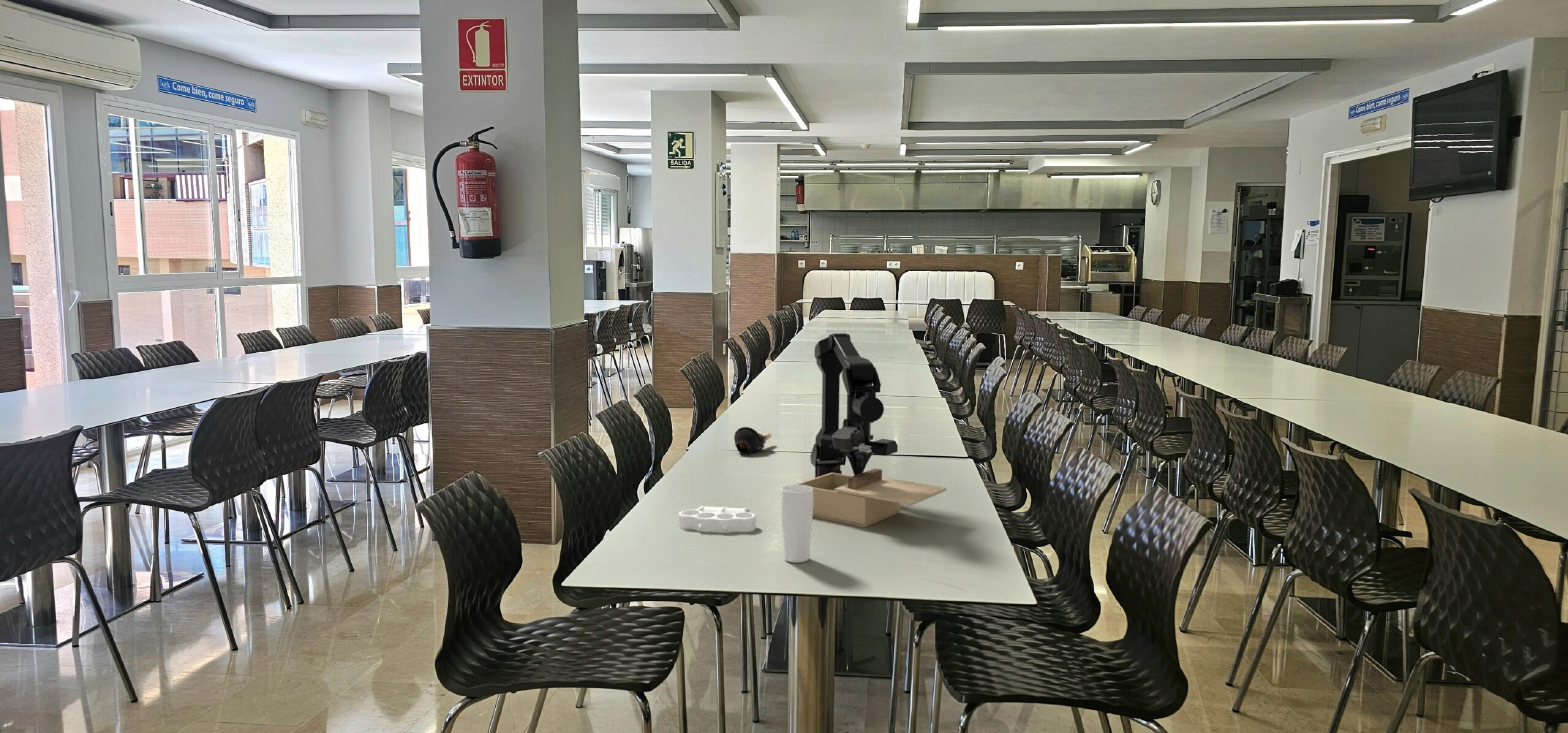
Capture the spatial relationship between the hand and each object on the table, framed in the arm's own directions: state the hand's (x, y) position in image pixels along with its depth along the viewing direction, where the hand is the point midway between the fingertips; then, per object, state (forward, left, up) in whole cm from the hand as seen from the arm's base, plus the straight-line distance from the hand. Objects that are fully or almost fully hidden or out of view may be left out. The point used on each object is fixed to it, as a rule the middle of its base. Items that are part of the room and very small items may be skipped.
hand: (857, 478), depth 224 cm
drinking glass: (+8, -36, -9) cm, 38 cm away
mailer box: (-3, 0, -9) cm, 9 cm away
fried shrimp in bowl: (-66, +43, -9) cm, 79 cm away
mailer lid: (+9, 0, -2) cm, 9 cm away
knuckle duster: (-21, -27, -10) cm, 35 cm away
